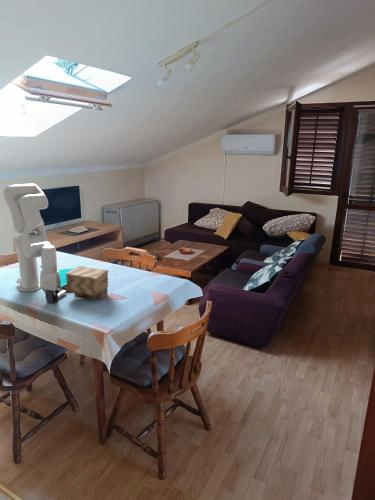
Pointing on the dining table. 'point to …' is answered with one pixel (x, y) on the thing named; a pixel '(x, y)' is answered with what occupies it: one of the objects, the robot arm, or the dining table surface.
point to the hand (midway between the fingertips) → (52, 300)
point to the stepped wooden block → (88, 282)
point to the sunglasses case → (66, 289)
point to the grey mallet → (50, 295)
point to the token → (79, 297)
